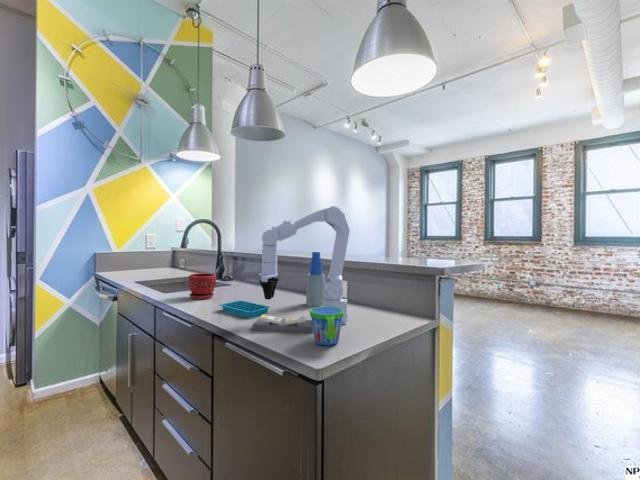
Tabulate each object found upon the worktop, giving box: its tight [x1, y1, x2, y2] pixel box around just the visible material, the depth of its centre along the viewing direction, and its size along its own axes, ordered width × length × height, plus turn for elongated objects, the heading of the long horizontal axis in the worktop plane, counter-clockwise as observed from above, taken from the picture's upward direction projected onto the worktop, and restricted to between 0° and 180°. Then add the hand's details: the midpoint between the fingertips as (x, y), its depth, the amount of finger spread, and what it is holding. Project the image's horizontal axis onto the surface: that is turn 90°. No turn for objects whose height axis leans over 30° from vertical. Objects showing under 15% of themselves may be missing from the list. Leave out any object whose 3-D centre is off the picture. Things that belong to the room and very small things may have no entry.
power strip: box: [251, 317, 313, 334], centre depth 113 cm, size 21×8×3 cm, turn 84°
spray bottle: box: [305, 251, 326, 308], centre depth 150 cm, size 9×9×25 cm
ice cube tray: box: [219, 300, 271, 319], centre depth 134 cm, size 12×20×3 cm, turn 53°
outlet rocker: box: [259, 314, 283, 324], centre depth 111 cm, size 7×4×1 cm, turn 84°
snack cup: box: [309, 306, 344, 347], centre depth 99 cm, size 16×10×10 cm
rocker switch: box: [285, 315, 308, 325], centre depth 110 cm, size 7×4×1 cm, turn 83°
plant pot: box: [188, 272, 217, 300], centre depth 161 cm, size 13×13×12 cm
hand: (269, 298), depth 118 cm, fingers open, 3 cm apart
